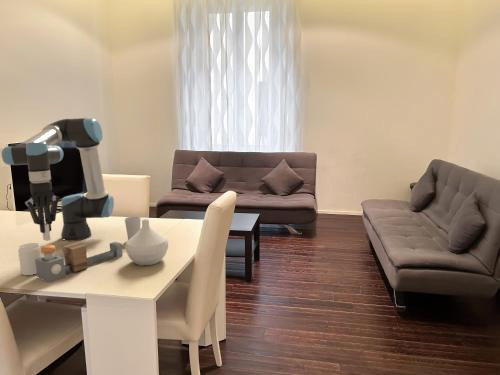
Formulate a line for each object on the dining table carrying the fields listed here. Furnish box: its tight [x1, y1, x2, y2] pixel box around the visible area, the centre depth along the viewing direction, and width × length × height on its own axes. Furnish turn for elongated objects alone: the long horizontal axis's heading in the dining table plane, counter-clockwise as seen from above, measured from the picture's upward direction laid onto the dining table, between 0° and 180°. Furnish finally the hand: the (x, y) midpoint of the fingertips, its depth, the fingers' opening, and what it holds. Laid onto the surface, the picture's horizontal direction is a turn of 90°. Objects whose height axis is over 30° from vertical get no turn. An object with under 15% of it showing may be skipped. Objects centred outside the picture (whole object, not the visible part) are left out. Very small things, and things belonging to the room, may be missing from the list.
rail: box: [64, 241, 123, 275], centre depth 181 cm, size 5×29×6 cm, turn 143°
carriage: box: [62, 242, 89, 273], centre depth 176 cm, size 7×6×10 cm
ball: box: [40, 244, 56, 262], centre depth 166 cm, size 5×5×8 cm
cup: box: [124, 216, 142, 241], centre depth 215 cm, size 8×8×12 cm
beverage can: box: [18, 242, 42, 276], centre depth 172 cm, size 8×8×12 cm
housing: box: [35, 254, 66, 283], centre depth 167 cm, size 9×7×8 cm
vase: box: [124, 218, 169, 266], centre depth 182 cm, size 18×18×19 cm
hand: (46, 239), depth 165 cm, fingers closed
